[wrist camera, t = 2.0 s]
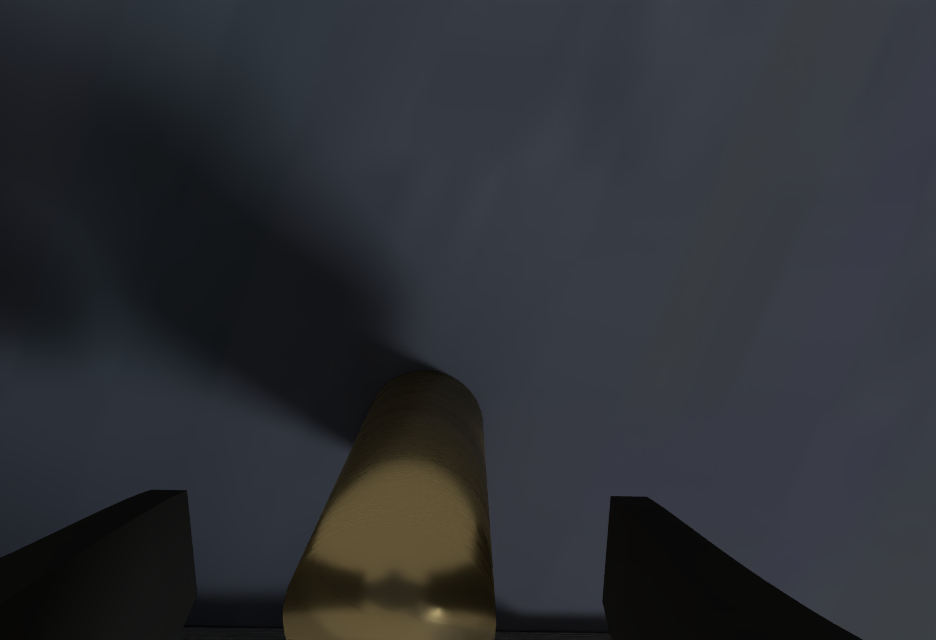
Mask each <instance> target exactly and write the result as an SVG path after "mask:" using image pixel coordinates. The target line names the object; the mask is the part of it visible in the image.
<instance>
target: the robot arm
mask: <svg viewBox="0 0 936 640" xmlns="http://www.w3.org/2000/svg"><path fill="white" fill-rule="evenodd" d="M196 598H197V586H196V576H195V566H194V556H193V546H192V536H191V526H190V516H189V506H188V496H187V490H149V491H146V492H144V493H141V494H138V495H135V496H133V497H130V498H128V499H126V500H123V501H121V502H119V503H116V504H114V505H112V506H110V507H108V508H105V509H103V510H101V511H99V512H97V513H95V514H93V515H90V516H88V517H86V518H84V519H82V520H80V521H78V522H76V523H74V524H71V525H69V526H67V527H65V528H63V529H61V530H59V531H57V532H55V533H53V534H50V535H48V536H46V537H44V538H42V539H40V540H38V541H36V542H34V543H32V544H29V545H27V546H25V547H23V548H21V549H19V550H17V551H15V552H13V553H10V554H8V555H6V556H4V557H1V558H0V640H177V639H178V637H179V635H180V633H181V631H182V629H183V627H184V624H185V622H186V620H187V618H188V616H189V613H190V611H191V609H192V607H193V605H194V602H195V600H196ZM603 606H604V610H605V615H606V619H607V624H608V628H609V633H610V637H611V640H862V639H860V638H859V637H857V636H855V635H853V634H852V633H850V632H848V631H846V630H844V629H843V628H841V627H839V626H837V625H835V624H834V623H832V622H830V621H829V620H827V619H825V618H824V617H822V616H820V615H818V614H817V613H815V612H813V611H812V610H810V609H809V608H807V607H805V606H804V605H802V604H801V603H799V602H798V601H796V600H794V599H793V598H791V597H790V596H788V595H787V594H785V593H784V592H782V591H780V590H779V589H777V588H776V587H774V586H773V585H771V584H770V583H768V582H766V581H765V580H763V579H762V578H761V577H759V576H758V575H756V574H755V573H753V572H752V571H750V570H749V569H747V568H746V567H744V566H743V565H742V564H740V563H739V562H737V561H736V560H734V559H733V558H732V557H730V556H729V555H727V554H726V553H725V552H723V551H722V550H720V549H719V548H718V547H716V546H715V545H714V544H712V543H711V542H709V541H708V540H707V539H705V538H704V537H703V536H701V535H700V534H699V533H697V532H696V531H694V530H693V529H692V528H690V527H689V526H688V525H686V524H685V523H684V522H682V521H681V520H680V519H678V518H677V517H676V516H674V515H673V514H671V513H670V512H669V511H667V510H666V509H664V508H663V507H662V506H660V505H659V504H657V503H656V502H654V501H653V500H651V499H649V498H648V497H628V496H611V499H610V512H609V525H608V537H607V550H606V563H605V575H604V588H603Z"/></svg>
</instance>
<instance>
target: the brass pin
mask: <svg viewBox="0 0 936 640" xmlns="http://www.w3.org/2000/svg"><path fill="white" fill-rule="evenodd" d="M283 626H284V633H285V637H286V640H494V637H495V630H496V610H495V595H494V580H493V565H492V550H491V535H490V520H489V505H488V491H487V476H486V461H485V446H484V431H483V418H482V413H481V410H480V407H479V404H478V402H477V400H476V399H475V397H474V396H473V394H472V393H471V392H470V391H469V389H468V388H467V387H466V386H464V385H463V384H462V383H461V382H459V381H458V380H456V379H455V378H453V377H451V376H449V375H446V374H443V373H440V372H435V371H415V372H410V373H407V374H403V375H401V376H399V377H397V378H395V379H393V380H392V381H390V382H389V383H388V384H387V385H385V386H384V387H383V388H382V389H381V391H380V392H379V393H378V394H377V396H376V397H375V399H374V401H373V403H372V405H371V407H370V410H369V412H368V414H367V416H366V418H365V420H364V423H363V425H362V427H361V429H360V431H359V434H358V436H357V438H356V440H355V442H354V444H353V447H352V449H351V451H350V453H349V455H348V458H347V460H346V462H345V464H344V466H343V468H342V471H341V473H340V475H339V477H338V479H337V482H336V484H335V486H334V488H333V490H332V492H331V495H330V497H329V499H328V501H327V503H326V506H325V508H324V510H323V512H322V514H321V516H320V519H319V521H318V523H317V525H316V527H315V529H314V532H313V534H312V536H311V538H310V540H309V543H308V545H307V547H306V549H305V551H304V553H303V556H302V558H301V560H300V562H299V564H298V567H297V569H296V571H295V573H294V575H293V577H292V580H291V582H290V584H289V586H288V590H287V593H286V596H285V600H284V606H283Z"/></svg>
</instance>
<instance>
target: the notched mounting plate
mask: <svg viewBox="0 0 936 640" xmlns="http://www.w3.org/2000/svg"><path fill="white" fill-rule="evenodd" d="M177 640H286V637H285V633H284V628H221V627H183V629H182V631H181V633H180V635H179V637H178V639H177ZM494 640H611V637H610V633H562V632H495V637H494Z"/></svg>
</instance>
